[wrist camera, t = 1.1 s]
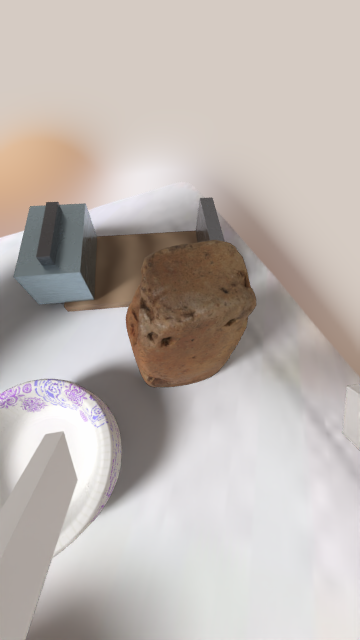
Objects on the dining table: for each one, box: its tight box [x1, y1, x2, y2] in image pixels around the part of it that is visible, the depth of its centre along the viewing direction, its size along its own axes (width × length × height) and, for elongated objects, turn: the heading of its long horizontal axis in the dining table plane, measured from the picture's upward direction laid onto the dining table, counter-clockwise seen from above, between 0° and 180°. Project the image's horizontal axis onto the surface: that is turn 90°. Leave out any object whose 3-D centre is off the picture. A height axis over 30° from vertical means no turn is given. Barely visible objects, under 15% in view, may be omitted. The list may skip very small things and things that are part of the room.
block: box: [126, 240, 256, 387], centre depth 26 cm, size 11×8×20 cm
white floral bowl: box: [0, 379, 122, 558], centre depth 25 cm, size 15×15×8 cm
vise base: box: [64, 198, 224, 312], centre depth 38 cm, size 25×14×8 cm, turn 97°
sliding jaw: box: [14, 202, 97, 304], centre depth 36 cm, size 8×13×8 cm, turn 7°
